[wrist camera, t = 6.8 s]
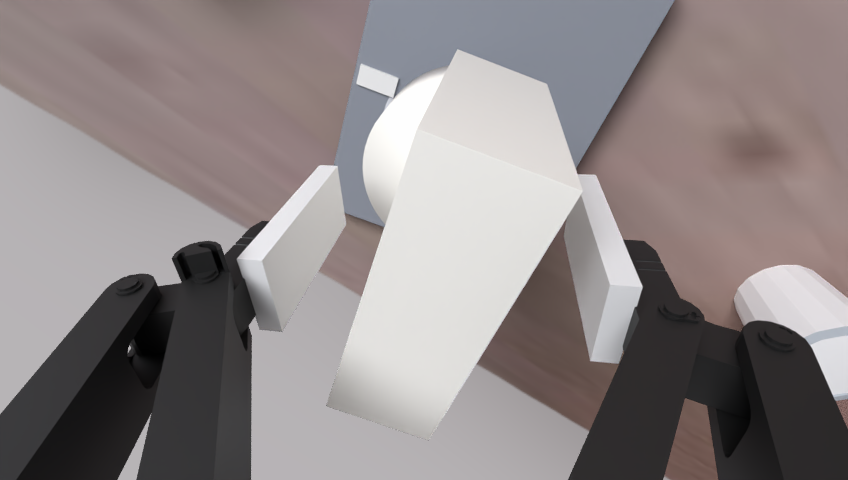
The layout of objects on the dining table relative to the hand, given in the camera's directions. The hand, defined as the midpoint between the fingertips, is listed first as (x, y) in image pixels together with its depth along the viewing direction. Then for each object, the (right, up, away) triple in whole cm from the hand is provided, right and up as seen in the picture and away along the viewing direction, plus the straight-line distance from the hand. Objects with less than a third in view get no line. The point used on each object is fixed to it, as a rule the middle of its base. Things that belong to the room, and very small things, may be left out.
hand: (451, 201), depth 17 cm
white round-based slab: (0, +2, +5) cm, 5 cm away
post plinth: (+2, +7, +11) cm, 13 cm away
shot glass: (+25, -6, +15) cm, 30 cm away
